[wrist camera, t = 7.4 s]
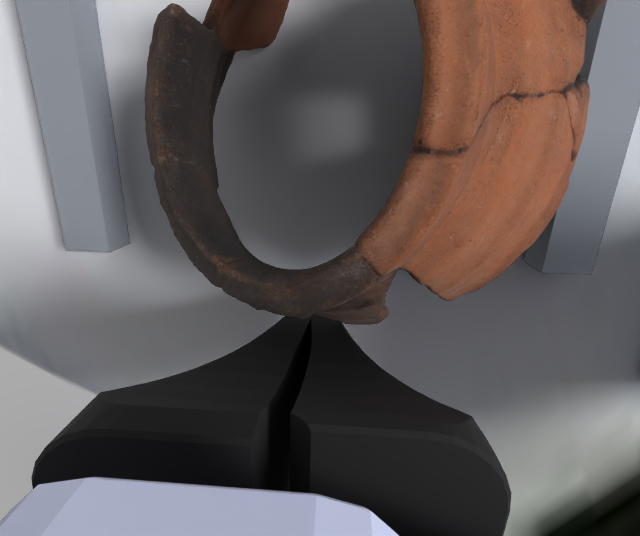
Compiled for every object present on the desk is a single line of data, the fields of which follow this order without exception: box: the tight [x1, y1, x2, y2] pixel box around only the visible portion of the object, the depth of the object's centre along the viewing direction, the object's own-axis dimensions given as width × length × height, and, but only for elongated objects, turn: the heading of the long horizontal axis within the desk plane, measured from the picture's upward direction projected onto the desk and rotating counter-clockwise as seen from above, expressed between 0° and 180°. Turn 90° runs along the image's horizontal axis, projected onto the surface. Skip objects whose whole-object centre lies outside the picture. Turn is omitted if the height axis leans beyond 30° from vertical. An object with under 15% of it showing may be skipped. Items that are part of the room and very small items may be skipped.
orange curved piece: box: [145, 0, 607, 324], centre depth 9 cm, size 12×9×8 cm
